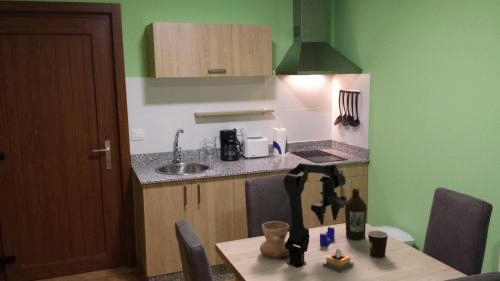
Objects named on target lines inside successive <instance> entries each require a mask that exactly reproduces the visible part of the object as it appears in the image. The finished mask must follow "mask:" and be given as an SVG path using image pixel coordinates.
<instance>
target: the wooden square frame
mask: <svg viewBox="0 0 500 281" xmlns="http://www.w3.org/2000/svg"><path fill="white" fill-rule="evenodd" d="M325 259H326V260H325V262H326V263H329V264H331V265H334V266H337V267H342V266H344V265H346V264H348V263H350V262H351V257H350V256H347V255H345V254H342V253H341V259H340V260H338V259H336V252H335V253H333V254H331V255H328V256H326V258H325Z"/></svg>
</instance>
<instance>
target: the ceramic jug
mask: <svg viewBox="0 0 500 281" xmlns="http://www.w3.org/2000/svg"><path fill="white" fill-rule="evenodd" d="M261 227H262V232H263V236H264V238H265V241H264V242H262V243H261V245H260V246H259V251H260V253H261V254H262V255H263V256H265V258H266V257H267V258H269V259H270V258H271V259H282V258H285V257H286V256H289V251H290V250H288V249H285V244H286V242H287V240H286V238H287V235H288V234H289V229H290V225H289V224H288V223H287V222H283V221H278V220H272V221H267V222H264V223H262V225H261Z"/></svg>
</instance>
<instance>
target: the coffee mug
mask: <svg viewBox="0 0 500 281" xmlns="http://www.w3.org/2000/svg"><path fill="white" fill-rule="evenodd" d="M388 235H389V234H388V233H387V232H386V231H382V230H371V231H368V232H367V237H368V239H367V240H368V245H369V246H368V247H369V248H368V249H369V256H370V257H371V258H375V259H381V258H382V259H384V258H385V257H386V250H387V243H388V238H389V236H388Z"/></svg>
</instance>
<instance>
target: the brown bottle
mask: <svg viewBox="0 0 500 281" xmlns="http://www.w3.org/2000/svg"><path fill="white" fill-rule="evenodd" d="M351 192H352V193H351V194H352V195H351V197H350V198H348V199H347V204H345V205H344V218H345V221H344V222H345V238H347V239H348V240H353V241H362V240H364V239H365V238H366V230H367V229H366V227H367V226H366V225H367V224H366V223H367V212H368V211H367V209H368V208H367V204H366V202H365V201H364V200H363V199H362V197H361V196H360V188H359V187H352V191H351Z"/></svg>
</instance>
